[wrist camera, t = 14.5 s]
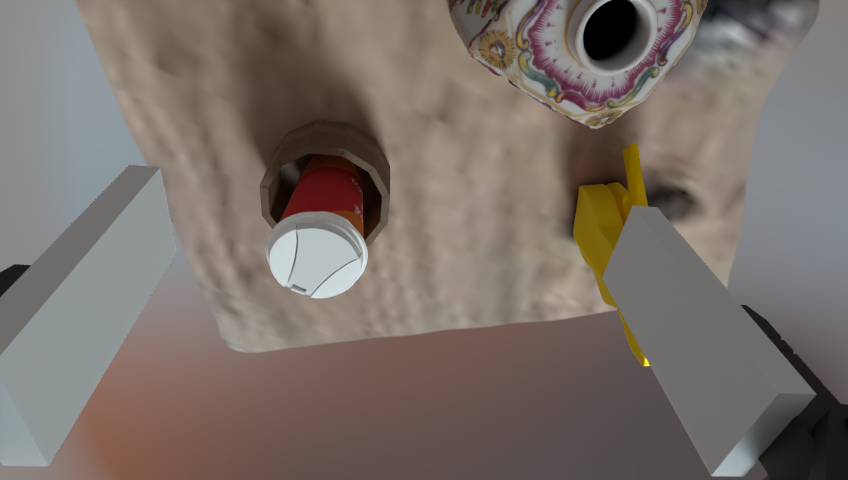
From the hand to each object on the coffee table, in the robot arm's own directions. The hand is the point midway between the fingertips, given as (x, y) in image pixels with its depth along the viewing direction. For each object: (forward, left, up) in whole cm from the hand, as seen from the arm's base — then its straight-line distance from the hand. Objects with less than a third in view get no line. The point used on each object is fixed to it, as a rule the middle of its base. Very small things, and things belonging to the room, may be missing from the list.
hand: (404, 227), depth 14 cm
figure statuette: (+18, +24, -35) cm, 46 cm away
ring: (+17, -5, -35) cm, 39 cm away
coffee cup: (+17, -5, -35) cm, 39 cm away
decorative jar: (-3, +12, -35) cm, 37 cm away
